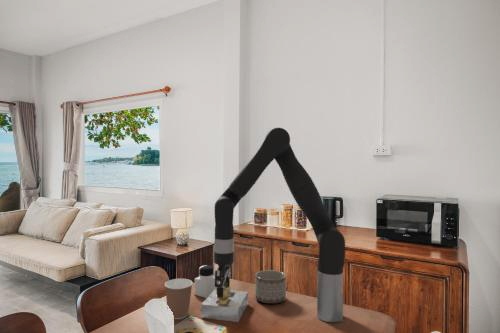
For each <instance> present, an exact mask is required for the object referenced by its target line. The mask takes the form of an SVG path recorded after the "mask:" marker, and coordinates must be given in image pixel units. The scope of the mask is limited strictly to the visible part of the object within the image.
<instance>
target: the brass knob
mask: <svg viewBox="0 0 500 333" xmlns="http://www.w3.org/2000/svg"><path fill="white" fill-rule="evenodd" d="M231 290H232V289H231V286H230V287H229V286H224V287H223V297H222V298H218V297H217V288H216V297H217V298H218V304H227V305H228V298H230V293H231Z"/></svg>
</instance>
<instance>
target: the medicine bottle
mask: <svg viewBox="0 0 500 333" xmlns="http://www.w3.org/2000/svg"><path fill="white" fill-rule="evenodd" d="M216 288H217V287H215V275H214V267H213V266H212V265H209V264H208V265H207V264H205V265H204V264H203V265H202V266H201V265H200V267H199V268H198V276H197V277H195V278H194V295H195V296H197V297H201V298H205V299H206V298H207V297H208V296H209V295H210V294H211V293H212V292H213V290H214V289H216Z"/></svg>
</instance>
